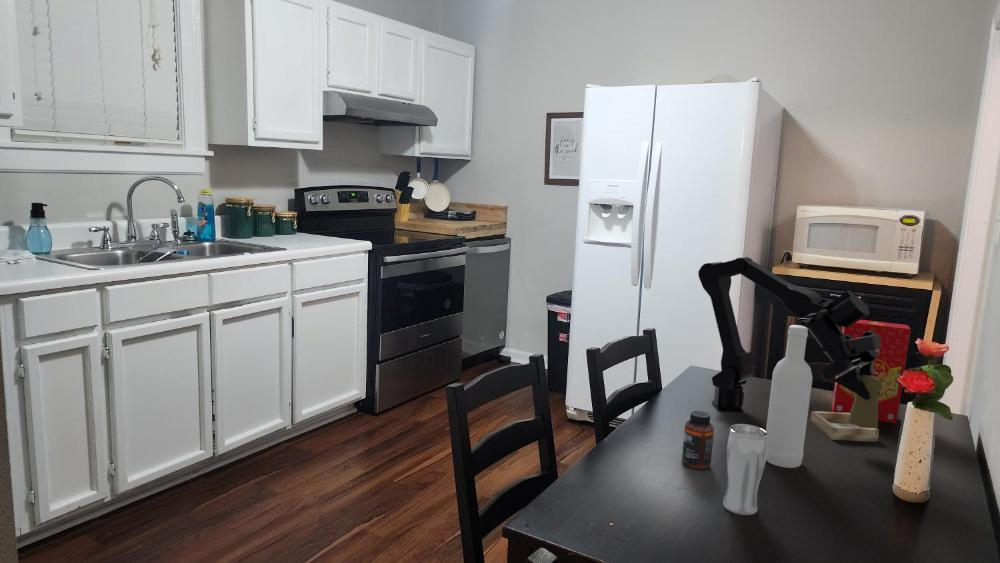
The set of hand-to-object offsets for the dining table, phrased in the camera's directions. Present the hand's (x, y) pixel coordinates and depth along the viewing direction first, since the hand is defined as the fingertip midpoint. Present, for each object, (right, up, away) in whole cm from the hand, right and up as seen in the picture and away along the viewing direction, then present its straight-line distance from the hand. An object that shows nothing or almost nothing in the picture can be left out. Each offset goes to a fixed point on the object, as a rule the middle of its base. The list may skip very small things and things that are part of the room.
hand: (873, 397), depth 151 cm
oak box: (0, -11, +14) cm, 18 cm away
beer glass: (-40, -16, -27) cm, 50 cm away
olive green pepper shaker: (-1, -6, +2) cm, 7 cm away
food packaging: (+12, -10, +27) cm, 31 cm away
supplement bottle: (-43, -13, -9) cm, 45 cm away
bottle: (-23, -13, -5) cm, 27 cm away
